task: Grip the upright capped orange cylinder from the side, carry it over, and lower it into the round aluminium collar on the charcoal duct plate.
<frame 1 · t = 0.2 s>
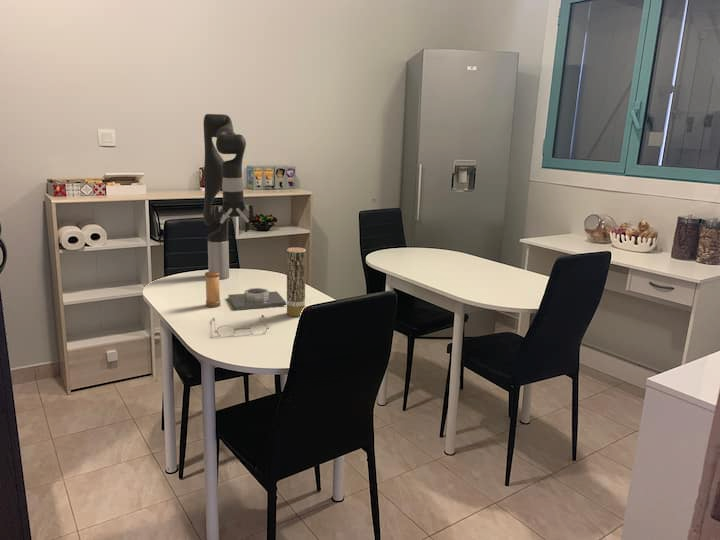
hand: (234, 232, 214), 29 cm above the table, tool pointing down, fingers open, 8 cm apart
paper tube: (295, 314, 212), on the table
eyeglasses: (240, 327, 198), on the table
capped orange cylinder: (213, 305, 219), on the table
duct plate: (256, 302, 226), on the table
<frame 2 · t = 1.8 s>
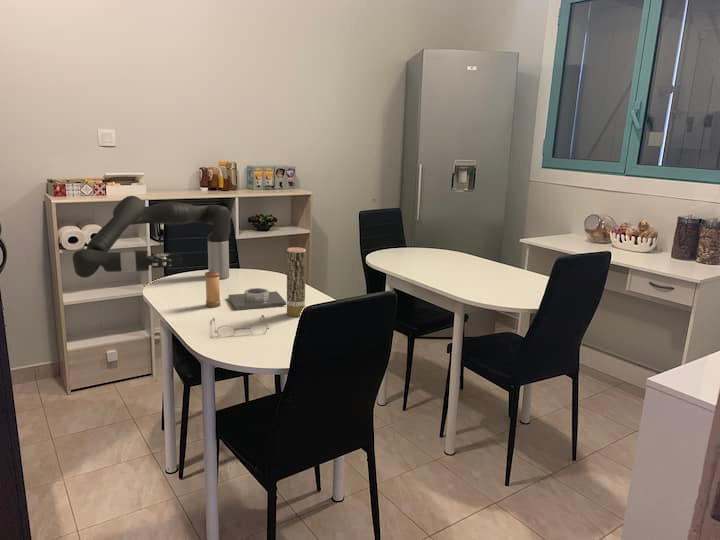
hand: (181, 259, 211), 19 cm above the table, tool horizontal, fingers open, 8 cm apart
nothing on the table moved.
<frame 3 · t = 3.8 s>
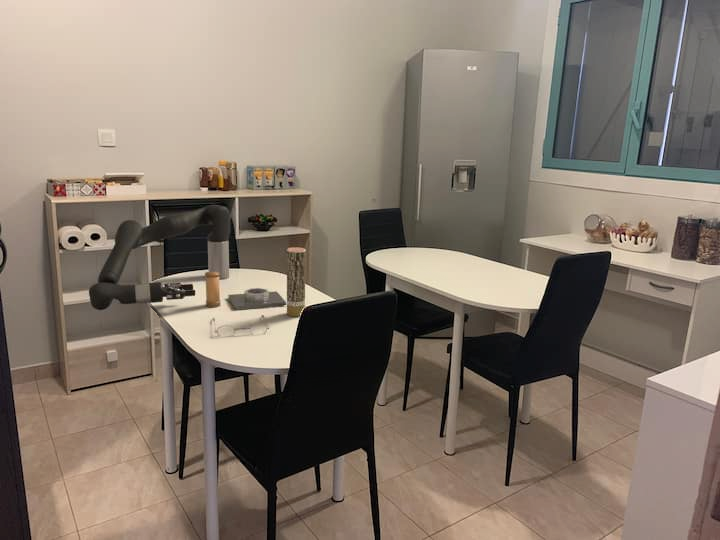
hand: (194, 289, 215), 7 cm above the table, tool horizontal, fingers open, 8 cm apart
nothing on the table moved.
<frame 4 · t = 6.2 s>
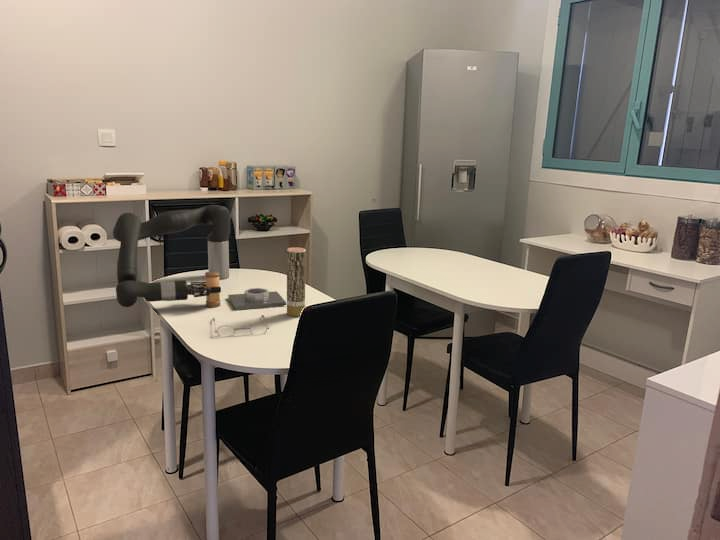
hand: (219, 287, 219), 7 cm above the table, tool horizontal, fingers closed on capped orange cylinder, 5 cm apart
capped orange cylinder: (213, 305, 219), on the table, touching gripper
everything else where it was.
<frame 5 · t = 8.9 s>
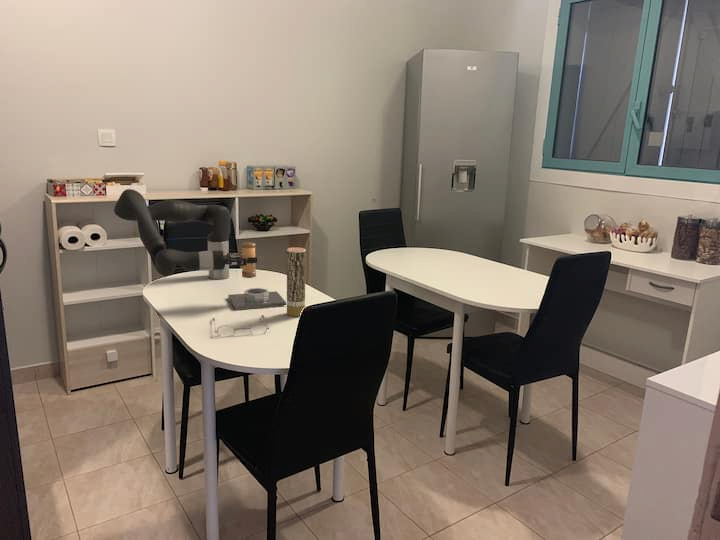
hand: (255, 258, 221), 18 cm above the table, tool horizontal, fingers closed on capped orange cylinder, 5 cm apart
capped orange cylinder: (248, 276, 222), point 11 cm above the table, touching gripper
everything else where it was.
when the fingers open (10 cm above the table, at t = 11.6 s): capped orange cylinder drops 1 cm, resting on duct plate.
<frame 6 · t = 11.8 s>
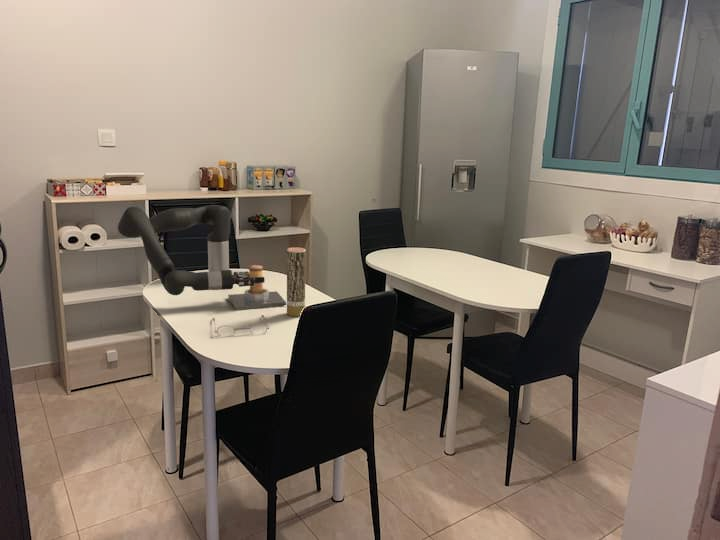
hand: (262, 277, 224), 10 cm above the table, tool horizontal, fingers open, 6 cm apart
capped orange cylinder: (256, 298, 225), point 2 cm above the table, touching duct plate
everything else where it was.
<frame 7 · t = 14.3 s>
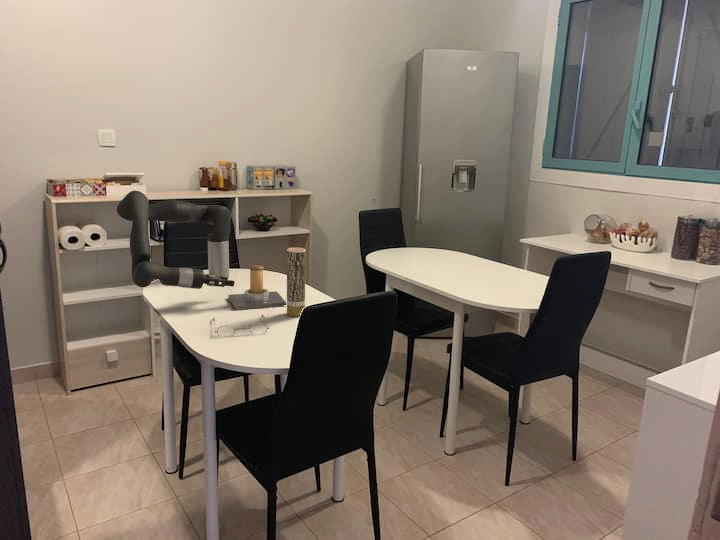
hand: (230, 281, 223), 8 cm above the table, tool horizontal, fingers open, 8 cm apart
nothing on the table moved.
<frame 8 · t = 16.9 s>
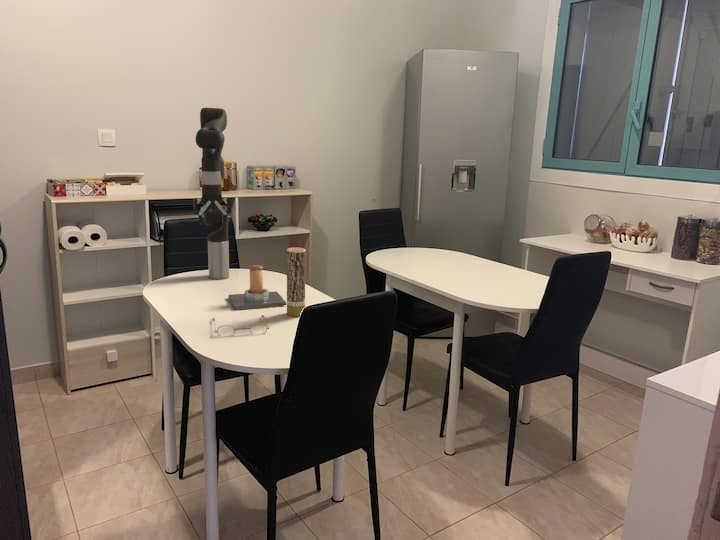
hand: (212, 224, 223), 30 cm above the table, tool pointing down, fingers open, 8 cm apart
nothing on the table moved.
at the end: capped orange cylinder 0.1 cm off-centre on the duct plate, point 1.6 cm above the duct plate's base; capped orange cylinder tilted 2°; the gripper is holding nothing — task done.
